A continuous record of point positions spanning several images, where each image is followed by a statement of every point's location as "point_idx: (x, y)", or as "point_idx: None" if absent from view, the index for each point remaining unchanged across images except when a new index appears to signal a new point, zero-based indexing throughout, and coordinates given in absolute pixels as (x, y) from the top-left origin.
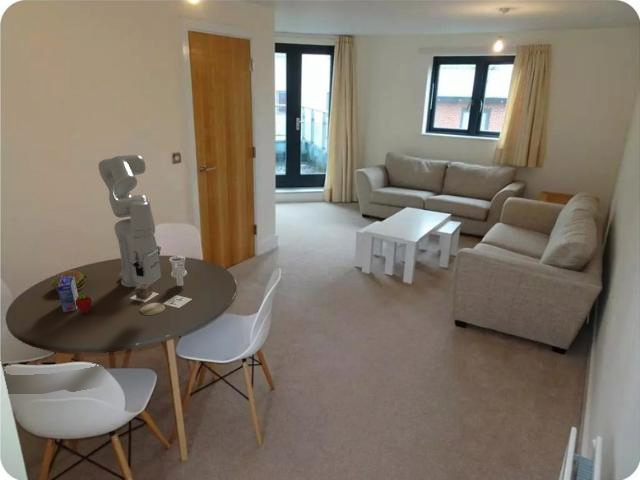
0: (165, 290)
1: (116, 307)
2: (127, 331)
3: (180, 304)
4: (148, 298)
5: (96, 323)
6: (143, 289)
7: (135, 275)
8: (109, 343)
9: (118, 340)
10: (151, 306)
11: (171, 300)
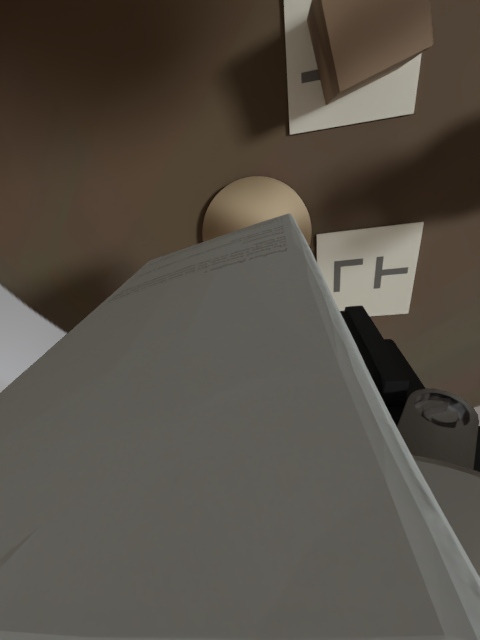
0: (473, 103)
1: (162, 19)
2: (100, 284)
3: (344, 305)
4: (334, 108)
5: (21, 107)
6: (334, 72)
7: (117, 291)
8: (29, 293)
9: (57, 302)
10: (266, 217)
11: (362, 245)
